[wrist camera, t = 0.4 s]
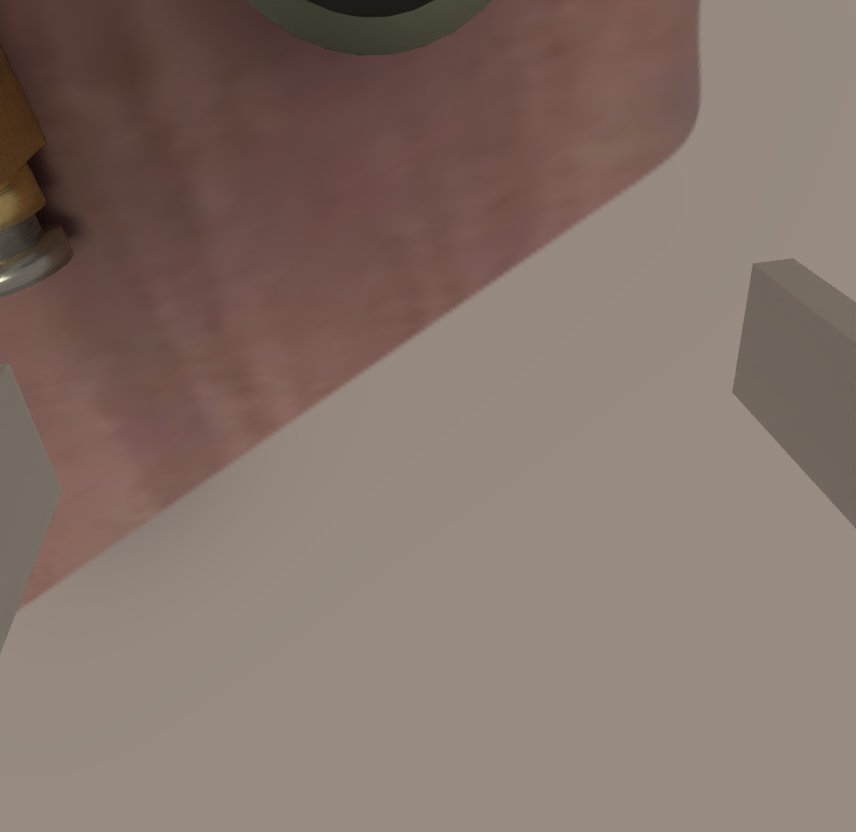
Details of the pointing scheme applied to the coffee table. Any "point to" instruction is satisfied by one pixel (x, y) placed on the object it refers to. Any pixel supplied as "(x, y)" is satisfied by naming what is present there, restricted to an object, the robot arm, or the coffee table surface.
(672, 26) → the coffee table surface
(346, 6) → the french press
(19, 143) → the pipe valve
